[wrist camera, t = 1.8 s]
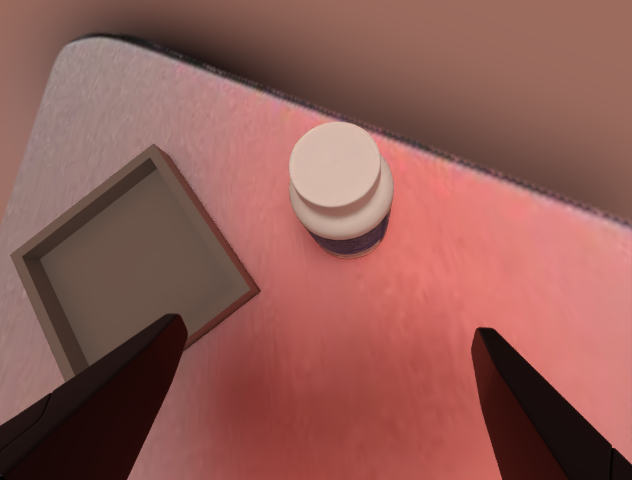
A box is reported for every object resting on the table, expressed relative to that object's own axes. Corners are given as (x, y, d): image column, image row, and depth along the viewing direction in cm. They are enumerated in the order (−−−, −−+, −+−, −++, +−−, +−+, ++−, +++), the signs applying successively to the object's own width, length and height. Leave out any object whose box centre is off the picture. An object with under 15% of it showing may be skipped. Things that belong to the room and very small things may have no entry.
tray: (105, 411, 23) (81, 420, 21) (36, 258, 27) (10, 254, 25) (260, 291, 23) (250, 289, 21) (169, 155, 27) (153, 143, 25)
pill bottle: (401, 241, 22) (421, 189, 13) (329, 272, 23) (299, 244, 13) (368, 175, 24) (365, 86, 14) (301, 205, 24) (256, 138, 15)
